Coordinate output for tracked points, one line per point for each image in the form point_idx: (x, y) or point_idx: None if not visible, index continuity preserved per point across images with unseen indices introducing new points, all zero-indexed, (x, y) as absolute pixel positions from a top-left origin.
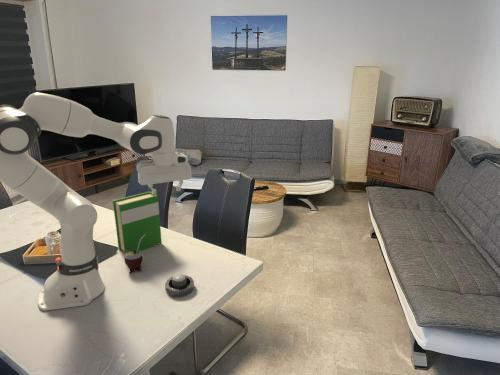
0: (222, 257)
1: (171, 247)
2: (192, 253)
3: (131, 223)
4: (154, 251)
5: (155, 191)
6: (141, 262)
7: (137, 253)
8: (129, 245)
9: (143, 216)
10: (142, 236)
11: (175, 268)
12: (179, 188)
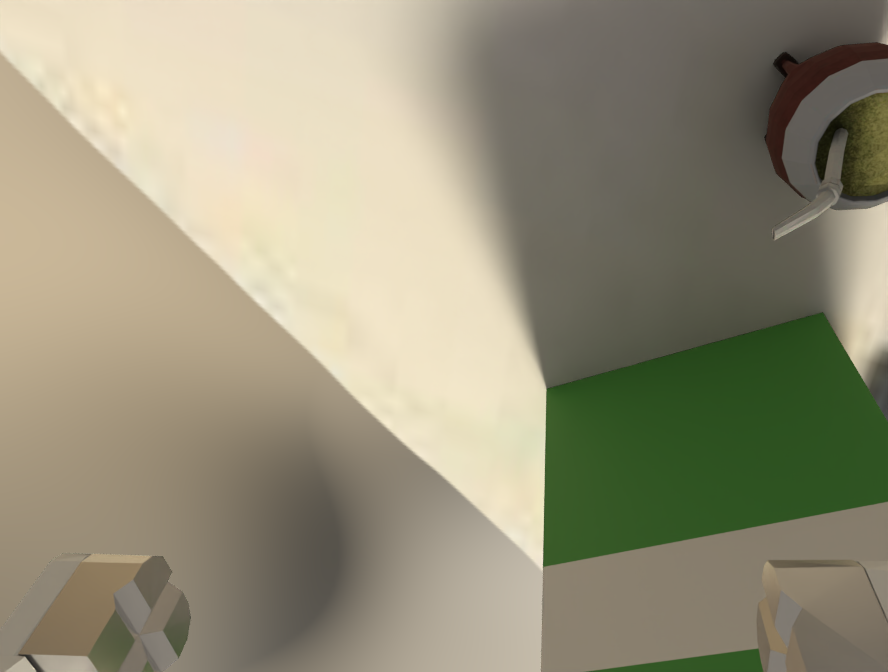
0: (136, 68)
1: (490, 320)
2: (354, 196)
3: (821, 503)
4: (613, 305)
5: (835, 645)
6: (788, 76)
7: (821, 154)
8: (805, 363)
9: (699, 555)
10: (696, 417)
11: (505, 9)
12: (41, 611)
